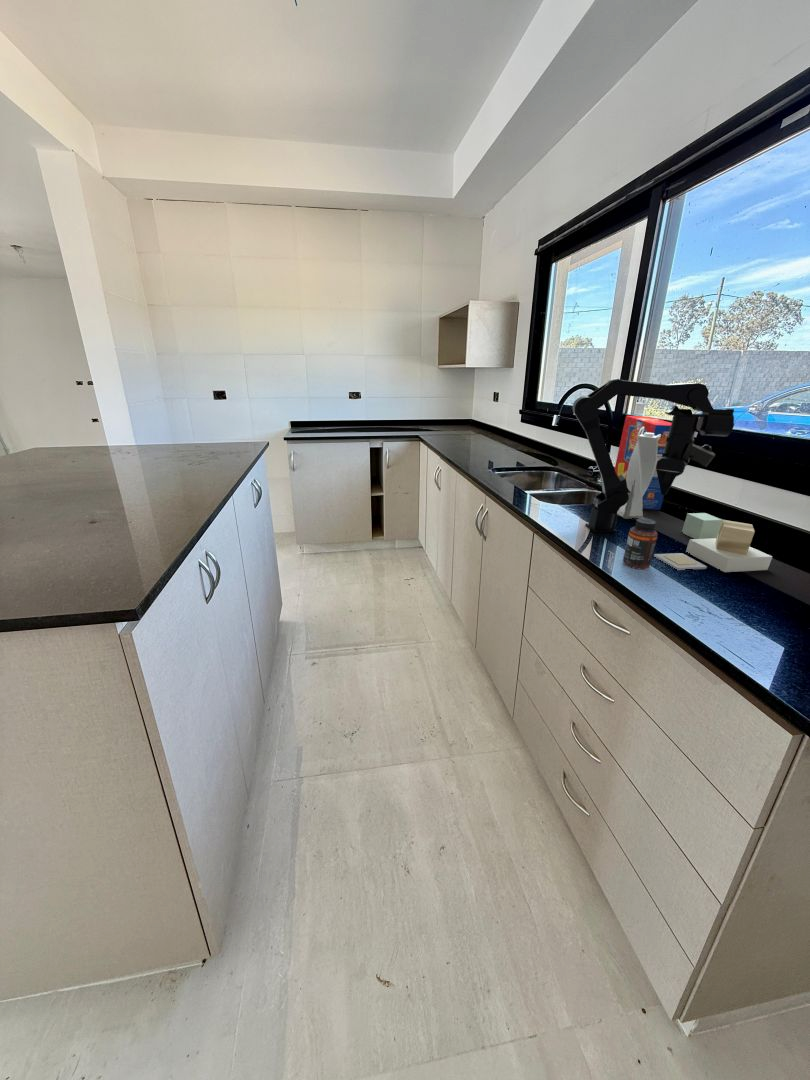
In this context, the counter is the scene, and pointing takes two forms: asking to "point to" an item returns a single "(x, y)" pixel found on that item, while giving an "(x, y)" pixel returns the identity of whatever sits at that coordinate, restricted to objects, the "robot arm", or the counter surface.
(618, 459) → the red and blue box
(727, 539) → the maple cube
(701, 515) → the sage cube
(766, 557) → the cream block
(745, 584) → the counter surface
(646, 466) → the skyscraper
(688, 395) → the robot arm
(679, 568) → the tile
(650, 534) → the supplement bottle
